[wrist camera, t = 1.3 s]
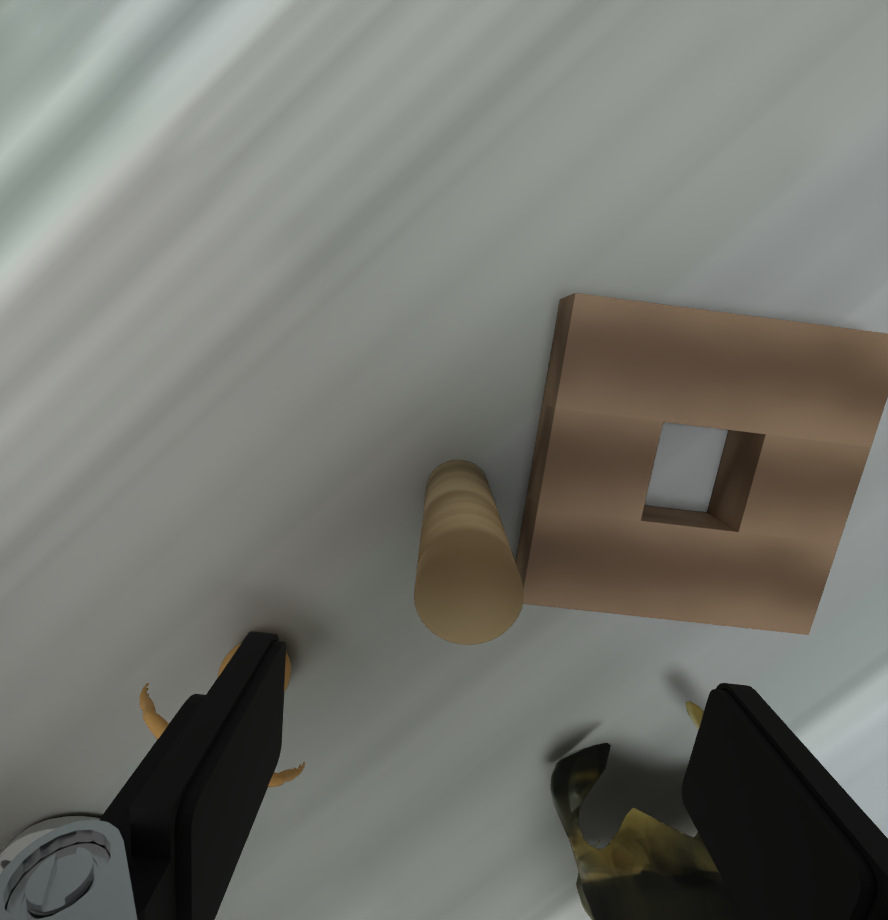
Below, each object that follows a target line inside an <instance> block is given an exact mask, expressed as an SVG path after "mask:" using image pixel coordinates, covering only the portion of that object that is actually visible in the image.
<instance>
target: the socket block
mask: <svg viewBox="0 0 888 920" xmlns="http://www.w3.org/2000/svg"><path fill="white" fill-rule="evenodd" d="M887 397H888V334H886V333H879V332H871V331H863V330H856V329H848V328H840V327H832V326H825V325H817V324H809V323H802V322H794V321H786V320H779V319H771V318H763V317H755V316H748V315H740V314H732V313H725V312H717V311H709V310H701V309H694V308H686V307H678V306H671V305H663V304H655V303H648V302H640V301H632V300H624V299H617V298H609V297H601V296H594V295H586V294H578V293H575V294H572V295H570V296H567V297H565V298H563V299H560V302H559V308H558V314H557V320H556V326H555V332H554V338H553V343H552V349H551V355H550V361H549V367H548V373H547V379H546V385H545V391H544V397H543V403H542V409H541V415H540V421H539V426H538V432H537V438H536V444H535V450H534V456H533V462H532V468H531V474H530V480H529V486H528V492H527V498H526V504H525V510H524V515H523V521H522V527H521V533H520V539H519V545H518V551H517V557H516V566H517V569H518V572H519V575H520V578H521V581H522V584H523V591H524V598H523V604H531V605H540V606H549V607H558V608H567V609H576V610H586V611H595V612H604V613H613V614H622V615H632V616H641V617H650V618H659V619H668V620H678V621H687V622H696V623H705V624H714V625H723V626H733V627H742V628H751V629H760V630H769V631H779V632H788V633H797V634H806V635H809V632H810V629H811V626H812V623H813V620H814V617H815V614H816V611H817V608H818V605H819V602H820V599H821V596H822V593H823V590H824V587H825V584H826V581H827V578H828V575H829V572H830V569H831V566H832V563H833V560H834V557H835V554H836V551H837V548H838V545H839V542H840V539H841V536H842V533H843V530H844V527H845V524H846V521H847V518H848V515H849V512H850V509H851V506H852V503H853V500H854V497H855V494H856V491H857V488H858V485H859V482H860V479H861V476H862V473H863V470H864V467H865V464H866V461H867V458H868V455H869V452H870V449H871V446H872V443H873V440H874V437H875V434H876V431H877V428H878V425H879V421H880V418H881V415H882V412H883V409H884V406H885V403H886V400H887ZM663 422H669V423H677V424H685V425H693V426H702V427H710V428H718V429H726V430H729V431H728V435H727V439H726V443H725V447H724V451H723V454H722V458H721V462H720V466H719V470H718V474H717V477H716V481H715V485H714V489H713V493H712V497H711V500H710V504H709V508H708V512H707V513H705V512H696V511H688V510H679V509H670V508H662V507H653V506H645V505H644V504H645V500H646V495H647V491H648V487H649V482H650V478H651V474H652V469H653V465H654V460H655V456H656V452H657V447H658V443H659V438H660V434H661V430H662V425H663Z"/></svg>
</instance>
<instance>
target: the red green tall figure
mask: <svg viewBox="0 0 888 920" xmlns="http://www.w3.org/2000/svg"><path fill="white" fill-rule="evenodd" d="M686 708H687V712H688V714H689V715H690V717H691V719H692V721H693V723H694V724H695V726H696V727H697V728H698V730H699V727H700V723H701V720H702V717H703V713H704V711H703V710H702V709H701V708H700V707H699V706H697V705H696V704H694V703H692V702H686ZM610 746H611V745H609V744H608V743H603V744H598V745H594V746H591V747H587V748H584V749H581V750H578V751H576V752H574V753H572V754H569V755H567V756H565V757H563V758H561V759H560V760H559V761H558V762H557V764H556V766H555V768H554V770H553V772H552V775H551V794H552V798H553V803H554V806H555V808H556V811H557V813H558V816H559V818H560V820H561V822H562V825H563V827H564V829H565V831H566V834H567V836H568V838H569V841H570V843H571V847H572V850H573V853H574V857H575V860H576V864H577V867H578V872H579V873H578V878H577V883H576V885H577V890H578V893H579V896H580V900H581V903H582V905H583V908H584V910H585V911H586V912H587V914H588V915H589V916H590V918H591V919H592V920H743V918H742V916H741V914H740V912H739V910H738V908H737V906H736V904H735V902H734V901H733V899H732V897H731V895H730V893H729V891H728V889H727V887H726V885H725V883H724V881H723V879H722V877H721V875H720V873H719V872H718V870H717V868H716V866H715V864H714V862H713V860H712V858H711V856H710V854H709V852H708V850H707V848H706V846H705V844H704V842H703V841H702V839H701V837H700V835H699V833H697V834H696V836H695V837H691V836H688V835H686V834H684V833H682V832H680V831H678V830H676V829H674V828H672V827H670V826H668V825H666V824H665V823H663V822H661V821H659V820H657V819H655V818H653V817H651V816H649V815H647V814H645V813H643V812H641V811H639V810H637V809H635V808H632V809H631V810H630V811H629V813H628V814H627V815H626V816H625V818H624V821H623V823H622V825H621V827H620V829H619V831H618V832H617V833H616V835H615V836H614V837H613V839H612V840H611V841H610V843H609V844H608V845H607V847H605V848H602V849H596V848H594V847H595V846H596V845H597V844H598V843H599V842H600V841H601V840H600V841H598V842H597V843H596V844H595V845H594V846H593V847H592V846H590V845H589V844H588V843H587V841H586V840H585V839H584V837H583V835H582V833H581V830H580V828H579V823H578V818H579V809H580V807H581V804H582V801H583V800H584V798H585V797H586V795H587V794H588V793H589V791H590V790H591V788H592V787H593V785H594V784H595V782H596V781H597V779H598V778H599V777H600V775H601V774H602V773H603V771H604V770H605V767H606V763H607V759H608V755H609V750H610Z"/></svg>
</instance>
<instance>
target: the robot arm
mask: <svg viewBox="0 0 888 920" xmlns="http://www.w3.org/2000/svg"><path fill="white" fill-rule="evenodd" d="M285 663H286V643H285V642H279V638H278V635H277V634H271V633H262V632H253V631H252V632H249V633H248V635H247V636H246V637H245V639H244V640H243V642H242V643H241V645H240V646H239V648H238V649H237V651H236V652H235V654H234V655H233V656H232V658H231V659H230V661H229V662H228V664H227V665H226V667H225V668H224V670H223V671H222V673H221V674H220V675H219V677H218V678H217V680H216V681H215V683H214V684H213V686H212V687H211V689H210V690H209V691H208V693H207V694H206V695H201V694H194V695H192V696H190V697H189V698H188V699H187V701H186V702H185V703H184V704H183V706H182V707H181V708H180V710H179V711H178V713H177V714H176V715H175V717H174V718H173V719H172V721H171V722H170V723H169V725H168V726H167V728H166V729H165V730H164V732H163V733H162V734H161V736H160V737H159V739H158V740H157V741H156V743H155V744H154V745H153V747H152V748H151V750H150V751H149V752H148V754H147V755H146V756H145V758H144V759H143V760H142V762H141V763H140V765H139V766H138V767H137V769H136V770H135V771H134V773H133V774H132V776H131V777H130V778H129V780H128V781H127V782H126V784H125V785H124V787H123V788H122V789H121V791H120V792H119V793H118V795H117V796H116V797H115V799H114V800H113V802H112V803H111V804H110V806H109V807H108V808H107V810H106V811H105V813H104V814H103V815H102V817H101V818H95V817H87V816H65V817H59V818H54V819H48V820H45V821H43V822H40V823H37V824H35V825H32V826H31V827H29V828H27V829H26V830H24V831H23V832H21V833H20V834H19V835H18V836H17V837H16V838H15V839H14V840H13V841H12V842H11V843H10V844H9V845H8V846H7V847H6V848H5V849H4V851H3V852H2V853H1V854H0V920H214V919H215V917H216V915H217V912H218V910H219V907H220V905H221V902H222V900H223V897H224V895H225V892H226V890H227V887H228V885H229V882H230V880H231V877H232V875H233V872H234V870H235V867H236V865H237V862H238V860H239V857H240V855H241V852H242V850H243V847H244V845H245V843H246V840H247V838H248V835H249V833H250V830H251V828H252V825H253V823H254V820H255V818H256V815H257V813H258V810H259V808H260V805H261V803H262V800H263V798H264V795H265V793H266V790H267V788H268V785H269V783H270V780H271V778H272V775H273V773H274V771H275V768H276V765H277V763H278V759H279V756H280V751H281V744H282V725H283V704H284V684H285ZM682 799H683V802H684V805H685V808H686V810H687V812H688V813H689V815H690V817H691V819H692V821H693V823H694V825H695V827H696V829H697V831H698V833H699V835H700V837H701V839H702V841H703V842H704V844H705V846H706V848H707V850H708V852H709V854H710V856H711V858H712V860H713V862H714V864H715V866H716V868H717V870H718V872H719V873H720V875H721V877H722V879H723V881H724V883H725V885H726V887H727V889H728V891H729V893H730V895H731V897H732V899H733V901H734V902H735V904H736V906H737V908H738V910H739V912H740V914H741V916H742V918H743V920H888V838H887V837H886V836H885V835H884V834H883V833H882V832H881V831H880V829H879V828H878V827H877V826H876V825H875V824H874V823H873V822H872V820H871V819H870V818H869V817H868V816H867V815H866V814H865V813H864V812H863V810H862V809H861V808H860V807H859V806H858V805H857V804H856V803H855V801H854V800H853V799H852V798H851V797H850V796H849V795H848V794H847V793H846V791H845V790H844V789H843V788H842V787H841V786H840V785H839V784H838V782H837V781H836V780H835V779H834V778H833V777H832V776H831V775H830V773H829V772H828V771H827V770H826V769H825V768H824V767H823V766H822V765H821V763H820V762H819V761H818V760H817V759H816V758H815V757H814V756H813V754H812V753H811V752H810V751H809V750H808V749H807V748H806V747H805V746H804V744H803V743H802V742H801V741H800V740H799V739H798V738H797V737H796V735H795V734H794V733H793V732H792V731H791V730H790V729H789V728H788V726H787V725H786V724H785V723H784V722H783V721H782V720H781V719H780V718H779V716H778V715H777V714H776V713H775V712H774V711H773V710H772V709H771V707H770V706H769V705H768V704H767V703H766V702H765V701H764V700H763V699H762V697H761V696H760V695H759V694H758V693H757V692H756V691H755V690H754V689H753V688H752V687H750V686H746V685H737V684H728V683H721V684H719V685H718V686H717V688H716V689H713V690H712V691H711V692H710V694H709V697H708V700H707V703H706V707H705V710H704V713H703V717H702V720H701V723H700V727H699V730H698V734H697V737H696V740H695V744H694V747H693V750H692V754H691V757H690V761H689V764H688V767H687V771H686V774H685V777H684V781H683V784H682Z"/></svg>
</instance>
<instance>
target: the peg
mask: <svg viewBox="0 0 888 920" xmlns="http://www.w3.org/2000/svg"><path fill="white" fill-rule="evenodd" d="M523 598H524V591H523V584H522V581H521V578H520V575H519V572H518V569H517V566H516V563H515V560H514V557H513V554H512V551H511V548H510V545H509V543H508V540H507V537H506V534H505V531H504V528H503V525H502V522H501V519H500V516H499V513H498V510H497V507H496V504H495V502H494V499H493V496H492V493H491V490H490V487H489V484H488V481H487V478H486V476H485V474H484V473H483V472H482V470H481V469H480V468H478V467H477V466H476V465H474V464H472V463H470V462H468V461H463V460H452V461H448V462H445V463H443V464H441V465H440V466H438V467H437V468H436V469H435V470H434V471H433V472H432V474H431V475H430V477H429V479H428V482H427V487H426V495H425V504H424V513H423V521H422V530H421V539H420V548H419V556H418V565H417V574H416V582H415V592H414V599H415V606H416V610H417V612H418V615H419V617H420V618H421V620H422V622H423V623H424V624H425V626H426V627H427V628H428V629H429V630H430V631H431V632H433V633H434V634H435V635H437V636H438V637H440V638H442V639H444V640H446V641H449V642H452V643H456V644H463V645H473V644H480V643H484V642H488V641H490V640H493V639H495V638H497V637H498V636H500V635H502V634H503V633H504V632H506V631H507V630H508V629H509V628H510V627H511V626H512V625H513V623H514V622H515V621H516V619H517V617H518V616H519V613H520V611H521V608H522V604H523Z"/></svg>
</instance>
